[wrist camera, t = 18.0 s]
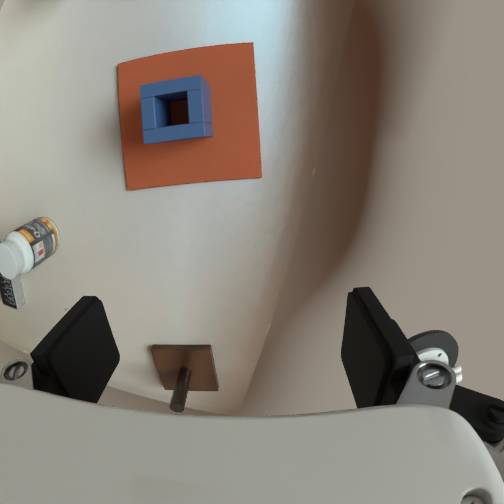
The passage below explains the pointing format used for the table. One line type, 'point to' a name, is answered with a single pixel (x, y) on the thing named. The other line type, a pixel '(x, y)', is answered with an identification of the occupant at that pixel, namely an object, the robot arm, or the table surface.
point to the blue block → (159, 111)
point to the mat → (191, 150)
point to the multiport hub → (11, 292)
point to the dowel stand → (185, 370)
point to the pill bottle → (28, 247)
